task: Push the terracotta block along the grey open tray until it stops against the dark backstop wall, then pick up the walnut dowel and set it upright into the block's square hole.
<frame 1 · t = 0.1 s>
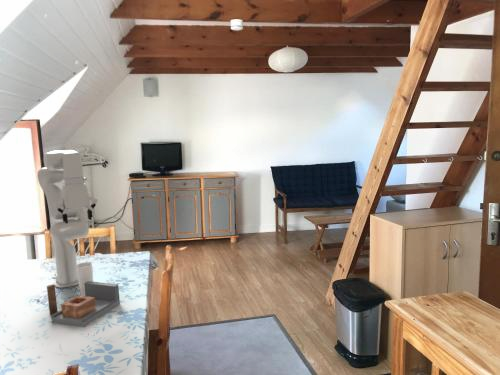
hand: (78, 221, 177), 37 cm above the table, tool pointing down, fingers open, 9 cm apart
block: (78, 306, 168), point 5 cm above the table, slide at 0.0 cm
drinking glass: (87, 296, 191), on the table
grey open tray: (87, 312, 173), on the table
dowel: (53, 313, 174), on the table
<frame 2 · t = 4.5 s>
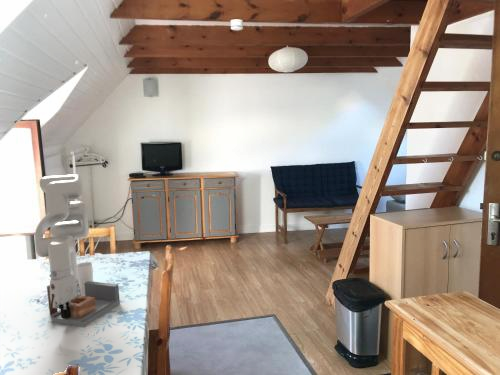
hand: (66, 317, 162), 3 cm above the table, tool pointing down, fingers closed
block: (78, 306, 168), point 5 cm above the table, slide at 0.1 cm, touching gripper
everything else where it was.
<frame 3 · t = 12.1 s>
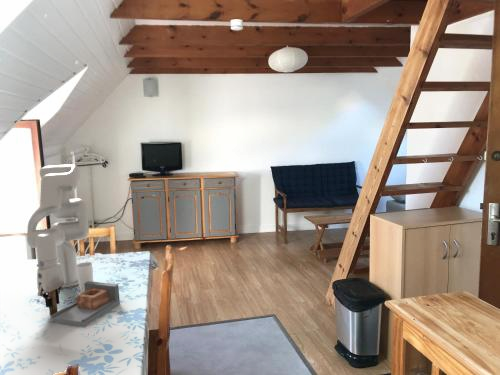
hand: (52, 304, 173), 4 cm above the table, tool pointing down, fingers closed on dowel, 3 cm apart
block: (93, 298, 176), point 5 cm above the table, slide at 8.5 cm, touching grey open tray
dowel: (53, 313, 174), on the table, touching gripper
everything else where it was.
when the fingers open (8 cm above the table, at t = 18.5 s): dowel drops 2 cm, resting on grey open tray.
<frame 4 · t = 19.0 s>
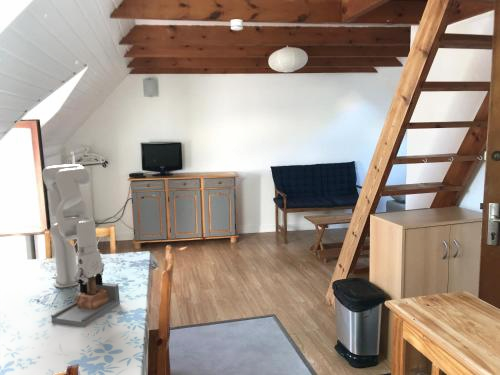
hand: (91, 288, 175), 9 cm above the table, tool pointing down, fingers open, 8 cm apart
dowel: (93, 304, 176), point 2 cm above the table, touching grey open tray
everything else where it was.
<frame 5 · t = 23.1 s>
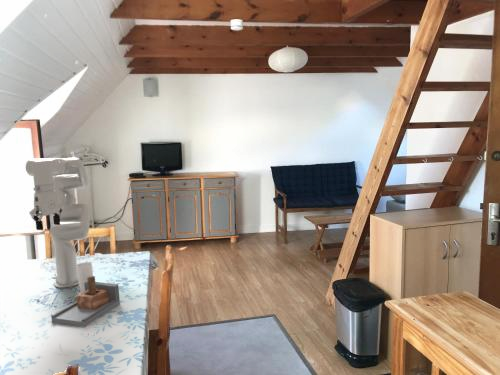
hand: (48, 227, 181), 34 cm above the table, tool pointing down, fingers open, 9 cm apart
nothing on the table moved.
at the end: block slide at 8.5 cm; dowel 0.0 cm off-centre on the block, point 0.0 cm above the block's base; dowel tilted 0° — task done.
